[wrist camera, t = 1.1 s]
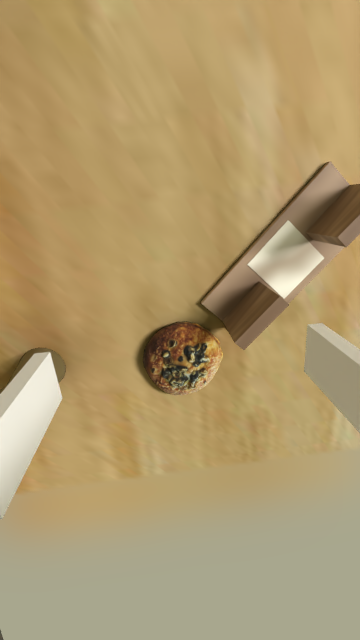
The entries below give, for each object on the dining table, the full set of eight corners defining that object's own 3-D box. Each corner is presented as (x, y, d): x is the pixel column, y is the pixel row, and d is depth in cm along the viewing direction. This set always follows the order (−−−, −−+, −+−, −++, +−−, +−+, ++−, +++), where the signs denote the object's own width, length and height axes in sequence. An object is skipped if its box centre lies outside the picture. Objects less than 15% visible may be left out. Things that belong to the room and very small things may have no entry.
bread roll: (138, 322, 40) (142, 338, 36) (217, 313, 42) (230, 327, 38) (145, 391, 45) (149, 413, 40) (216, 380, 47) (228, 400, 42)
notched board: (200, 301, 40) (210, 322, 33) (326, 162, 35) (370, 150, 28) (247, 340, 42) (266, 368, 35) (371, 215, 38) (422, 217, 30)
